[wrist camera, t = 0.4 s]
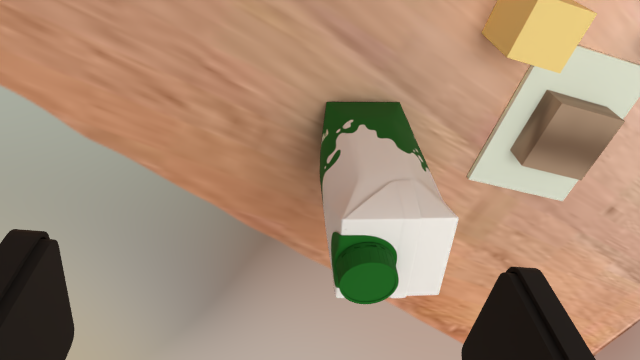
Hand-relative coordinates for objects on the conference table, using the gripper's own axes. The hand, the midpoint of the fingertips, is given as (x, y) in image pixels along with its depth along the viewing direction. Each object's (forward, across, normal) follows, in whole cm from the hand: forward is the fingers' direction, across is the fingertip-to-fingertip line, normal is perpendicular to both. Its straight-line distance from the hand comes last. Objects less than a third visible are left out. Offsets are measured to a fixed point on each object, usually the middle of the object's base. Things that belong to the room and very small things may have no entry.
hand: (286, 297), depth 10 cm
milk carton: (+35, -10, +14) cm, 39 cm away
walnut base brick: (+34, -29, +11) cm, 46 cm away
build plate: (+34, -29, +11) cm, 46 cm away
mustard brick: (+34, -21, 0) cm, 40 cm away
